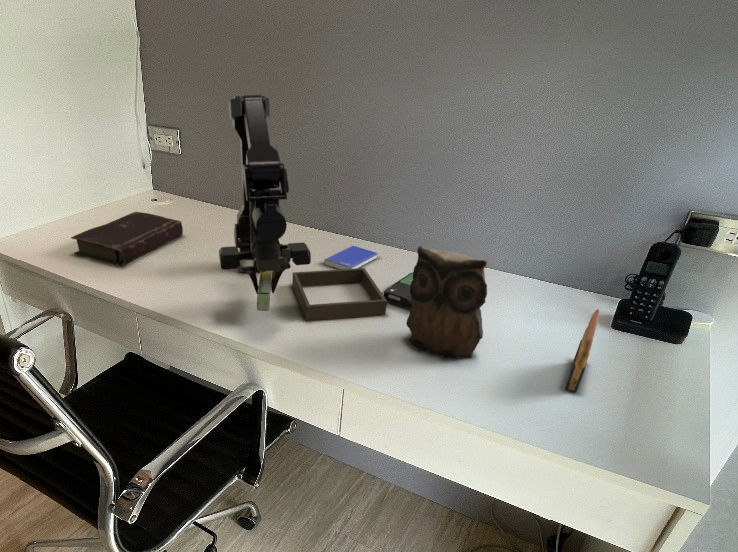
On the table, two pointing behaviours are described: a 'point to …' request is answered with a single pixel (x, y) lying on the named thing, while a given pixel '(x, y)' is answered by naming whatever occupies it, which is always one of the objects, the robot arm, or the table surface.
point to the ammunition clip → (582, 355)
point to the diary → (127, 238)
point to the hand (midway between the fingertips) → (264, 292)
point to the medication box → (264, 291)
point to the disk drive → (400, 292)
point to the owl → (447, 303)
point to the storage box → (344, 308)
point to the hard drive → (350, 258)
